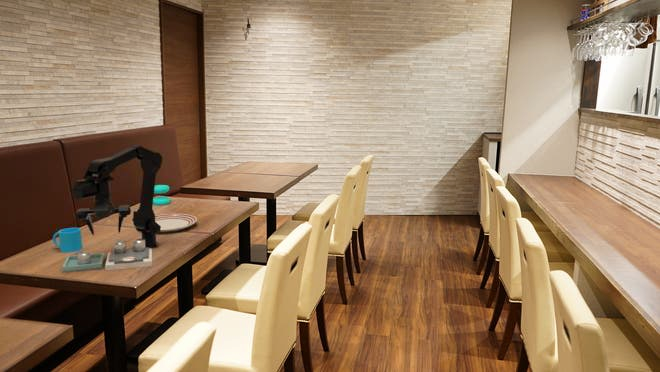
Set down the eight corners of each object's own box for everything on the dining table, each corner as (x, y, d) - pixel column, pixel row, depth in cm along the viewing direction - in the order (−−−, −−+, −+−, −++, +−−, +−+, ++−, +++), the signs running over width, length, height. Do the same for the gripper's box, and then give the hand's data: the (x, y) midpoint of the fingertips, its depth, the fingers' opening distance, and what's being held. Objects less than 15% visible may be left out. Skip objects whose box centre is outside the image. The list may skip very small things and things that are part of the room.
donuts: (155, 188, 293) (148, 185, 301) (156, 206, 295) (149, 203, 302) (172, 186, 299) (165, 183, 307) (173, 203, 301) (166, 200, 309)
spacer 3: (133, 249, 210) (132, 239, 209) (145, 248, 211) (145, 238, 210) (133, 252, 206) (132, 242, 205) (145, 251, 207) (144, 241, 206)
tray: (67, 261, 204) (67, 256, 203) (104, 257, 208) (104, 253, 207) (62, 272, 192) (62, 267, 191) (101, 268, 196) (101, 263, 195)
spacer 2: (114, 250, 208) (113, 240, 207) (126, 249, 209) (126, 239, 208) (113, 254, 203) (112, 244, 203) (126, 253, 205) (125, 243, 204)
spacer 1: (78, 262, 201) (77, 251, 200) (91, 261, 202) (91, 250, 202) (77, 265, 197) (76, 255, 196) (90, 264, 198) (89, 254, 197)
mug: (86, 247, 221) (84, 228, 220) (74, 253, 213) (72, 233, 212) (60, 245, 223) (58, 226, 222) (47, 251, 215) (45, 232, 214)
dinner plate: (175, 237, 236) (174, 230, 235) (124, 232, 245) (123, 225, 244) (208, 222, 262) (207, 216, 261) (160, 218, 270) (160, 211, 269)
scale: (108, 257, 209) (108, 248, 208) (152, 253, 213) (151, 245, 213) (105, 271, 193) (104, 262, 192) (152, 266, 198) (151, 257, 197)
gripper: (71, 200, 190) (76, 242, 193) (127, 196, 196) (131, 237, 199) (76, 194, 200) (80, 233, 204) (129, 190, 206) (132, 229, 209)
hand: (106, 233), depth 204 cm, fingers open, 9 cm apart
